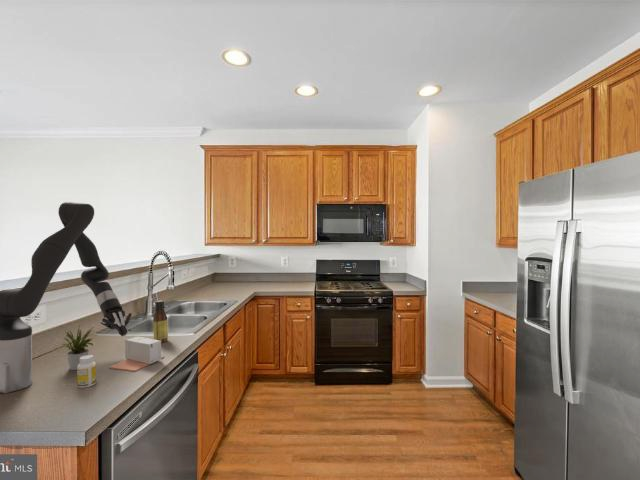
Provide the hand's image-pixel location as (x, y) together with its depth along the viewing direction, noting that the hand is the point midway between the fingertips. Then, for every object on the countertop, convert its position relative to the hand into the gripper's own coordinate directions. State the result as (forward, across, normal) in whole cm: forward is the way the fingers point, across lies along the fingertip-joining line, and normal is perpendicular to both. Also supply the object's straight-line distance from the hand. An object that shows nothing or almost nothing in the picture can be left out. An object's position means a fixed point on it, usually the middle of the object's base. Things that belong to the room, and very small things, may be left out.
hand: (124, 334), depth 146 cm
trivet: (+15, -1, -2) cm, 15 cm away
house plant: (+4, -18, +9) cm, 20 cm away
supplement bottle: (+18, -22, -5) cm, 29 cm away
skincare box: (+6, 0, +1) cm, 6 cm away
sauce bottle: (+2, +21, +11) cm, 24 cm away
